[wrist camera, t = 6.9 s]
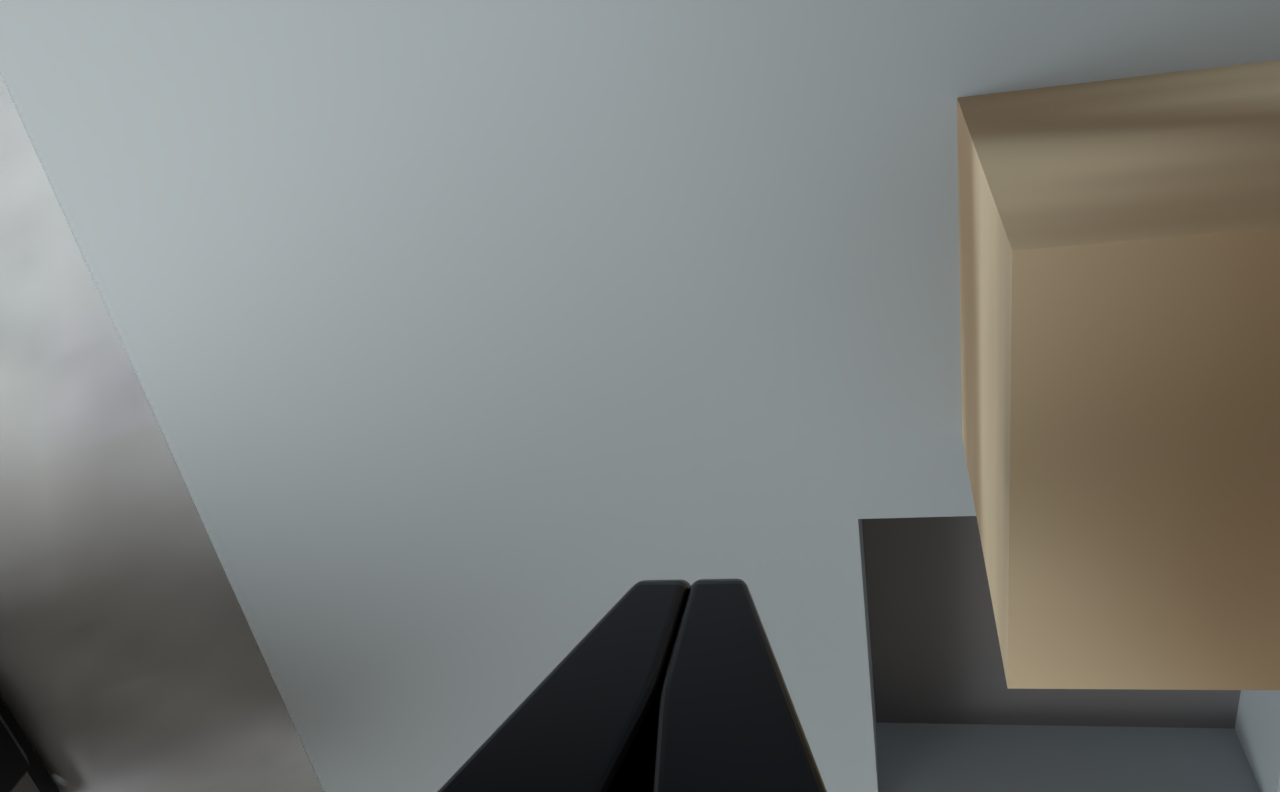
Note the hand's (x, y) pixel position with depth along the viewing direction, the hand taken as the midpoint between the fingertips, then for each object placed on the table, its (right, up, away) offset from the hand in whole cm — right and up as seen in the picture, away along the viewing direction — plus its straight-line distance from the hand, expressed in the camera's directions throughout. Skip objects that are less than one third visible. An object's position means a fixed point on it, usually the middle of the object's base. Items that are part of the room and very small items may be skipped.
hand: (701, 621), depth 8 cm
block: (+6, +3, +4) cm, 8 cm away
